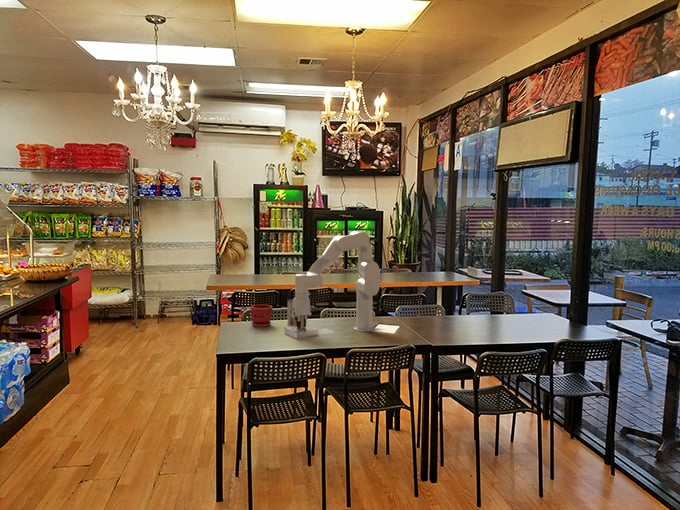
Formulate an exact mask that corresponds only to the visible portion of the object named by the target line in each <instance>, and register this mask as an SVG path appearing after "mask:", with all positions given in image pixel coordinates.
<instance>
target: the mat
mask: <svg viewBox="0 0 680 510" xmlns="http://www.w3.org/2000/svg"><path fill="white" fill-rule="evenodd" d="M333 333H336V331H333V330H331V329H329V328H327V327H326V328H321V329H318V335H321V336H322V335H323V336H325V335H329V334H333Z"/></svg>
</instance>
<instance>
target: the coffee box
mask: <svg viewBox="0 0 680 510" xmlns="http://www.w3.org/2000/svg"><path fill="white" fill-rule="evenodd" d="M293 299H294V298H293ZM293 299H292V298H291V299H287V327H290V326H296V320H295V319H294V318H292V317H291V315H292V304H293ZM295 317H296V315H295Z"/></svg>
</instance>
